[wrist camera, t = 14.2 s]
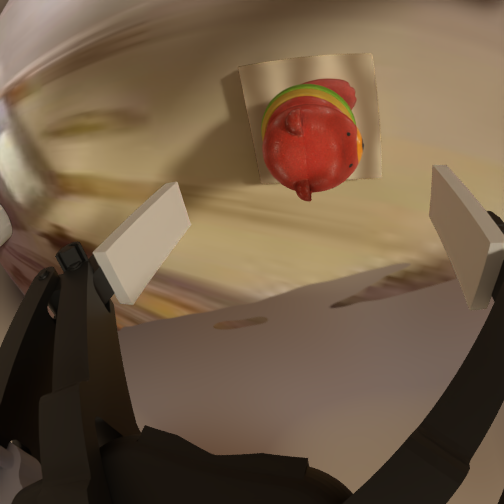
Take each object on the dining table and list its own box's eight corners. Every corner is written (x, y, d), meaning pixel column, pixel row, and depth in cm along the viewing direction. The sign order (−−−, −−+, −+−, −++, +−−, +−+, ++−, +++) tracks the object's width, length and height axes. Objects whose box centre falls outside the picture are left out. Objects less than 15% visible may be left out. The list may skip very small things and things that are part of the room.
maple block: (367, 54, 30) (372, 53, 26) (377, 168, 38) (382, 178, 35) (246, 66, 34) (237, 66, 31) (266, 173, 43) (261, 184, 40)
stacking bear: (354, 165, 35) (378, 236, 20) (273, 162, 37) (239, 229, 22) (355, 80, 29) (390, 80, 14) (269, 78, 31) (225, 78, 16)
